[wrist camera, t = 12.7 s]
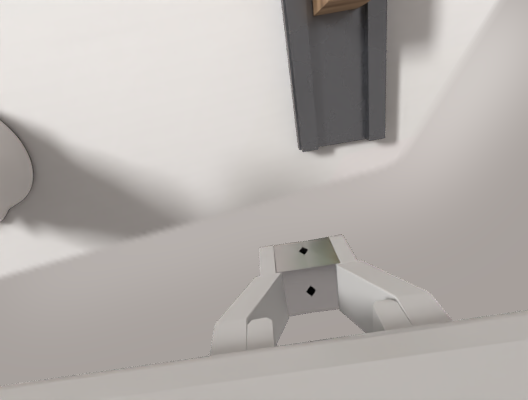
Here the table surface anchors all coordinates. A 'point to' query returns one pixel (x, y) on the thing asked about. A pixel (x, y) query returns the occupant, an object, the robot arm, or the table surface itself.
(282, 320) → the robot arm
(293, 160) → the table surface
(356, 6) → the brown wooden block
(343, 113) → the slot bed
